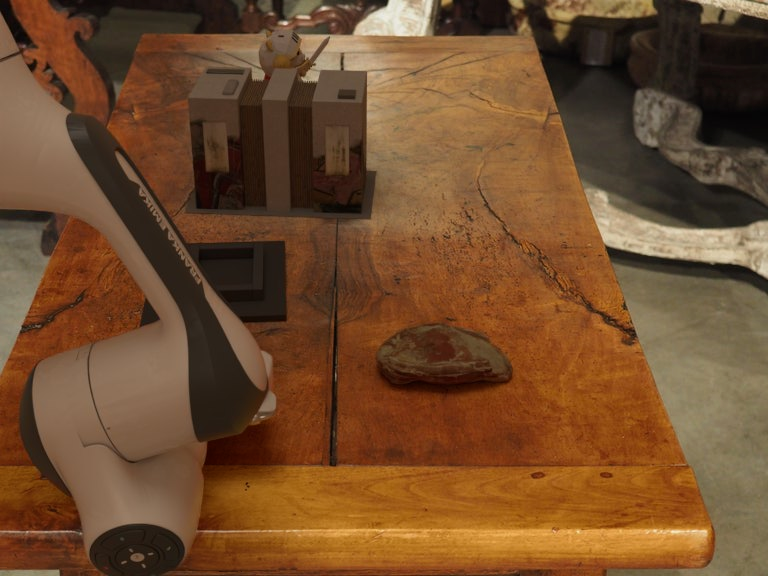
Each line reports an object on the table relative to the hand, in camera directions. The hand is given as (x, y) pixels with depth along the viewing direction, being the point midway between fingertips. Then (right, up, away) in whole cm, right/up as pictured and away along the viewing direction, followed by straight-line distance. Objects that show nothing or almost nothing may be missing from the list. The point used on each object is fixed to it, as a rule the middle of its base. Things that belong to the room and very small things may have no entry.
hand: (170, 340), depth 105 cm
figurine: (+5, +32, +67) cm, 75 cm away
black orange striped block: (0, -6, +2) cm, 6 cm away
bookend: (+7, +19, +45) cm, 49 cm away
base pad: (+2, +6, +22) cm, 23 cm away
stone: (+27, -3, +8) cm, 28 cm away
